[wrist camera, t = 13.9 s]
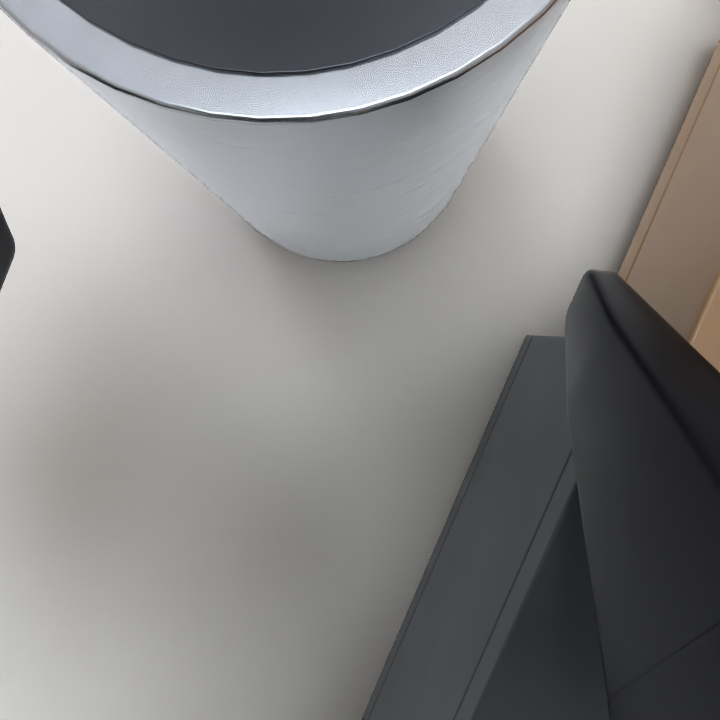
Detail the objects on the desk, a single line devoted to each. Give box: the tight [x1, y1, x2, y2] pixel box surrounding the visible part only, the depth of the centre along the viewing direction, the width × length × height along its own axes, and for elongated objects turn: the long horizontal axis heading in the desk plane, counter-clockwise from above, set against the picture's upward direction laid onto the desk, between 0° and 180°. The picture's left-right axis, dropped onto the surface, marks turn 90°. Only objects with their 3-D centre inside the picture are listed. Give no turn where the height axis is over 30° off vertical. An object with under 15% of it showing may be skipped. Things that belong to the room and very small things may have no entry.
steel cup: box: [0, 0, 570, 262], centre depth 11 cm, size 7×7×11 cm
